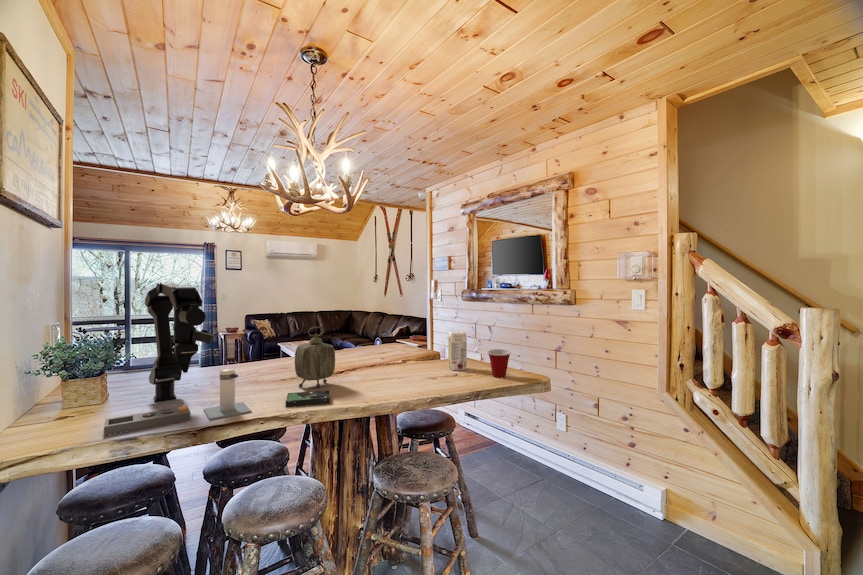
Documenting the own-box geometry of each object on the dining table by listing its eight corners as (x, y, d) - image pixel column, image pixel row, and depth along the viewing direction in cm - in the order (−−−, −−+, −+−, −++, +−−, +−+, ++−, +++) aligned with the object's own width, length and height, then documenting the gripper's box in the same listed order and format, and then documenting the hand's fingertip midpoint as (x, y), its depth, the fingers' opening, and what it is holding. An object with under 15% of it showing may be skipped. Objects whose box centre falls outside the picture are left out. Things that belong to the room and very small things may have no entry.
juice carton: (467, 370, 187) (468, 332, 187) (451, 371, 184) (451, 333, 184) (462, 367, 194) (462, 330, 194) (446, 368, 192) (447, 331, 192)
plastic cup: (483, 377, 172) (483, 351, 172) (492, 373, 181) (492, 348, 181) (505, 380, 166) (506, 353, 166) (514, 375, 175) (514, 350, 175)
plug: (216, 410, 121) (216, 371, 122) (228, 406, 126) (229, 368, 126) (230, 413, 119) (230, 373, 119) (243, 409, 123) (243, 370, 123)
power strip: (105, 427, 108) (105, 416, 108) (187, 413, 121) (187, 403, 121) (103, 436, 102) (104, 424, 102) (190, 420, 114) (190, 409, 114)
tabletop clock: (326, 381, 162) (327, 324, 162) (337, 385, 156) (337, 326, 156) (294, 387, 152) (294, 326, 152) (303, 392, 146) (304, 328, 146)
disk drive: (329, 397, 142) (287, 400, 137) (329, 389, 142) (287, 392, 137) (330, 405, 132) (285, 408, 127) (330, 397, 132) (285, 400, 127)
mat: (203, 410, 123) (203, 408, 123) (242, 403, 131) (242, 401, 131) (209, 420, 114) (209, 418, 114) (251, 412, 122) (251, 410, 122)
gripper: (216, 324, 123) (216, 371, 123) (207, 320, 137) (207, 362, 137) (175, 326, 116) (175, 376, 116) (170, 322, 130) (170, 366, 130)
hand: (183, 370), depth 125 cm, fingers open, 9 cm apart
